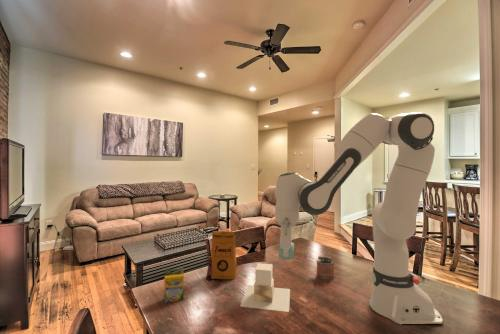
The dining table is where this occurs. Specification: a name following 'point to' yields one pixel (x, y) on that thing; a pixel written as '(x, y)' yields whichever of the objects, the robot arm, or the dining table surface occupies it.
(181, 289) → the crayon box
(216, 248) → the coffee package
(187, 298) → the dining table surface
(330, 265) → the lighter
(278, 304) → the white flat board
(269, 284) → the white block
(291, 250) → the teal rounded cube
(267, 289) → the maple block
